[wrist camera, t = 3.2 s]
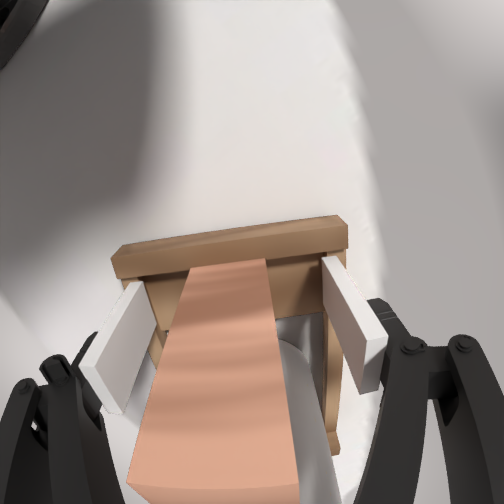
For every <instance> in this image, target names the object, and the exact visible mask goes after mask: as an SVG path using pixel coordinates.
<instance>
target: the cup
mask: <svg viewBox="0 0 504 504" xmlns="http://www.w3.org/2000/svg"><path fill="white" fill-rule="evenodd" d="M278 343H279V350H280V356H281V363H282V369H283V376H284V383H285V389H286V396H287V403H288V410H289V416H290V423H291V430H292V437H293V444H294V451H295V458H296V465H297V473H298V480H299V496H300V504H342V501H341V497H340V492H339V487H338V483H337V478H336V474H335V469H334V465H333V460H332V456H331V452H330V447H329V443H328V439H327V434H326V430H325V426H324V422H323V418H322V414H321V409H320V405H319V401H318V397H317V393H316V389H315V385H314V381H313V377H312V373H311V369H310V365H309V362H308V360H307V358H306V357H305V355H304V354H303V353H302V352H301V351H300V350H299V349H298V348H297V347H295V346H294V345H292V344H290V343H288V342H286V341H283V340H280V339H278Z"/></svg>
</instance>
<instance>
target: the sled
mask: <svg viewBox="0 0 504 504" xmlns="http://www.w3.org/2000/svg"><path fill="white" fill-rule="evenodd" d="M346 249H348V225H347V224H346V223H345V222H344V221H343V220H342V219H341V218H340V217H339V216H338V215H332V216H323V217H315V218H307V219H299V220H291V221H284V222H276V223H269V224H261V225H254V226H246V227H239V228H232V229H225V230H218V231H211V232H204V233H198V234H191V235H184V236H178V237H171V238H165V239H158V240H152V241H146V242H140V243H134V244H127V245H122V246H121V247H120V249H119V250H118V251H117V252H116V253H115V254H114V255H113V256H112V257H111V261H112V265H113V268H114V271H115V274H116V277H117V279H121V281H122V284H123V287H124V290H125V289H126V288H127V286H128V285H129V283H130V282H139V281H143V284H144V287H145V290H146V293H147V296H148V299H149V302H150V305H151V308H152V311H153V314H154V317H155V320H156V323H157V325H156V327H155V330H154V332H153V335H152V337H151V340H150V342H149V345H148V348H147V350H148V352H149V354H150V357H151V359H152V361H153V364H154V366H155V368H156V370H157V371H156V374H155V377H154V381H153V384H152V387H151V391H150V394H149V398H148V401H147V405H146V408H145V412H144V415H143V419H142V422H141V426H140V430H139V433H138V437H137V441H136V445H135V449H134V452H133V456H132V460H131V464H130V468H129V472H128V477H127V481H126V483H127V484H128V485H129V486H131V487H132V488H133V489H134V490H135V491H136V492H137V493H138V494H140V495H141V496H142V497H143V498H144V499H145V500H147V501H148V502H149V503H150V504H300V496H299V480H298V473H297V465H296V458H295V451H294V444H293V437H292V430H291V423H290V416H289V410H288V403H287V396H286V389H285V383H284V376H283V369H282V363H281V356H280V350H279V343H278V337H277V330H276V324H275V319H277V318H285V317H291V316H298V315H305V314H311V313H317V312H323V390H322V418H323V422H324V426H325V430H326V434H327V439H328V443H329V447H330V452H331V456H334V455H339V453H340V444H339V441H338V437H337V433H336V427H337V419H338V410H339V401H340V391H341V380H342V367H343V351H342V348H341V346H340V343H339V341H338V338H337V336H336V334H335V331H334V329H333V326H332V324H331V321H330V319H329V317H328V314H327V312H326V309H325V307H324V305H323V281H322V257H329V256H337V257H338V259H339V260H340V262H341V263H342V265H343V266H344V268H345V269H346ZM165 330H169V333H168V336H167V333H166V331H165Z"/></svg>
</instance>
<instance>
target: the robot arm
mask: <svg viewBox="0 0 504 504" xmlns="http://www.w3.org/2000/svg"><path fill="white" fill-rule="evenodd" d="M46 2H47V0H0V70H1V69H2V67H3V66H4V65H5V64H6V63H7V61H8V60H9V59H10V57H11V56H12V55H13V54H14V52H15V51H16V49H17V48H18V47H19V45H20V44H21V42H22V41H23V40H24V38H25V37H26V35H27V34H28V32H29V30H30V29H31V27H32V26H33V24H34V23H35V21H36V19H37V18H38V16H39V14H40V12H41V11H42V9H43V7H44V5H45V3H46ZM322 281H323V305H324V307H325V309H326V312H327V314H328V317H329V319H330V321H331V324H332V326H333V329H334V331H335V334H336V336H337V338H338V341H339V343H340V346H341V348H342V351H343V353H344V356H345V358H346V361H347V363H348V366H349V369H350V371H351V374H352V376H353V379H354V381H355V384H356V387H357V389H358V392H359V395H361V394H365V393H369V392H373V391H377V390H378V389H379V384H380V381H381V383H382V385H383V387H384V391H383V395H382V399H381V403H380V410H379V415H378V419H377V424H376V428H375V432H374V436H373V440H372V444H371V448H370V452H369V455H368V459H367V462H366V466H365V469H364V473H363V476H362V479H361V482H360V485H359V488H358V491H357V494H356V498H355V500H354V503H353V504H413V502H414V498H415V493H416V488H417V483H418V478H419V472H420V466H421V460H422V453H423V445H424V437H425V426H426V415H427V401H428V399H432V400H433V404H434V408H435V412H436V417H437V421H438V426H439V430H440V435H441V440H442V446H443V451H444V457H445V463H446V470H447V476H448V483H449V492H450V501H451V504H504V395H503V393H502V391H501V388H500V386H499V384H498V382H497V380H496V377H495V375H494V373H493V371H492V368H491V367H490V364H489V362H488V360H487V358H486V356H485V354H484V352H483V350H482V348H481V346H480V344H479V343H478V342H477V340H476V339H474V338H473V337H471V336H468V335H461V334H459V335H456V336H453V337H452V338H451V339H450V340H449V343H448V346H440V347H439V346H438V347H431V346H427V344H426V343H425V342H424V341H423V340H421V339H420V338H418V337H413V336H411V335H410V334H409V332H408V331H407V329H406V328H405V327H404V325H403V324H402V322H401V321H400V320H399V318H397V316H396V314H395V313H394V312H393V310H392V308H391V307H390V306H389V304H388V303H387V302H385V301H383V300H382V299H380V298H376V299H370V300H366V299H365V298H364V296H363V295H362V293H361V292H360V290H359V289H358V287H357V286H356V284H355V283H354V281H353V280H352V278H351V277H350V275H349V274H348V272H347V271H346V269H345V268H344V266H343V265H342V263H341V262H340V260H339V259H338V257H337V256H329V257H322ZM156 325H157V323H156V320H155V317H154V314H153V311H152V308H151V305H150V302H149V299H148V296H147V293H146V290H145V287H144V284H143V281H139V282H130V283H129V285H128V286H127V288H126V289H125V291H124V292H123V294H122V295H121V297H120V298H119V300H118V302H117V303H116V305H115V306H114V308H113V309H112V311H111V312H110V314H109V316H108V317H107V319H106V320H105V322H104V324H103V325H102V327H101V329H100V330H99V332H94V333H93V334H92V335H90V336H89V337H88V338H87V340H86V341H85V343H84V344H83V347H82V348H81V349H80V351H79V353H78V354H77V356H76V358H75V359H74V361H73V363H72V364H71V366H70V364H69V362H68V361H67V359H66V357H65V356H63V355H60V354H57V355H53V356H51V357H48V358H47V359H46V360H44V361H43V363H42V364H41V365H40V368H39V370H40V371H41V373H42V374H43V376H44V377H45V379H46V381H47V382H48V385H42V386H38V385H37V384H36V382H35V381H34V380H33V379H32V378H26V379H22V380H20V381H19V382H18V383H17V384H16V385H15V387H14V388H13V390H12V393H11V395H10V398H9V400H8V403H7V405H6V408H5V410H4V413H3V416H2V418H1V421H0V504H125V502H124V499H123V496H122V492H121V489H120V485H119V482H118V479H117V475H116V471H115V468H114V464H113V460H112V456H111V451H110V447H109V443H108V438H107V434H106V428H105V423H104V418H103V416H102V414H101V413H100V408H101V406H102V405H103V406H104V408H105V409H106V411H107V412H108V413H113V414H124V412H125V409H126V406H127V403H128V400H129V397H130V394H131V391H132V388H133V386H134V383H135V380H136V377H137V375H138V372H139V369H140V366H141V364H142V361H143V358H144V356H145V353H146V350H147V348H148V345H149V342H150V340H151V337H152V335H153V332H154V330H155V327H156ZM32 422H34V423H35V424H36V425H37V428H36V430H34V429H33V428H32V427H31V425H32Z"/></svg>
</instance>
